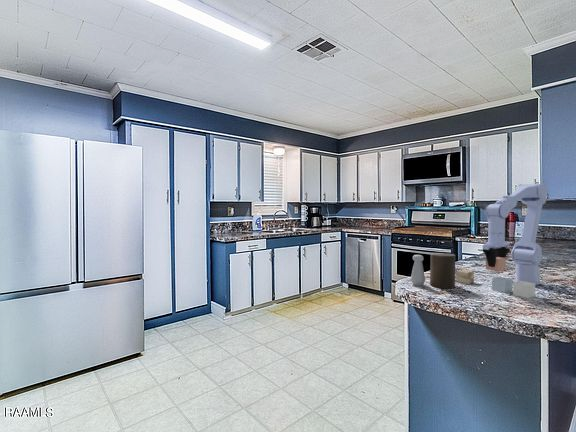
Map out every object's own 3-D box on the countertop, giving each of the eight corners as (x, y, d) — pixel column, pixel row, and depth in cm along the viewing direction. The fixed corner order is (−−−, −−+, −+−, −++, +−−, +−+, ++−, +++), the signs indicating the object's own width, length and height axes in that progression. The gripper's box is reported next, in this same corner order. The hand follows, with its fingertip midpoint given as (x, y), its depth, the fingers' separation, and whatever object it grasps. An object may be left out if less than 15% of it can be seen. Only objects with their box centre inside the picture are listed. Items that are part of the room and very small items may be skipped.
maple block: (463, 280, 146) (463, 269, 146) (473, 282, 142) (473, 271, 141) (456, 281, 144) (456, 270, 144) (466, 284, 139) (466, 272, 139)
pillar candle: (449, 290, 129) (450, 253, 129) (425, 285, 136) (426, 250, 136) (458, 286, 135) (459, 251, 135) (435, 282, 143) (436, 249, 142)
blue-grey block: (499, 288, 132) (499, 276, 132) (512, 291, 127) (512, 279, 127) (492, 289, 129) (492, 277, 129) (505, 293, 125) (505, 280, 125)
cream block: (520, 293, 125) (520, 280, 124) (535, 296, 120) (535, 283, 120) (513, 294, 122) (513, 282, 122) (527, 298, 118) (528, 285, 118)
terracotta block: (492, 268, 134) (493, 256, 134) (505, 270, 129) (505, 258, 129) (485, 269, 132) (485, 257, 132) (497, 271, 127) (498, 259, 127)
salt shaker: (426, 286, 134) (426, 256, 134) (412, 286, 135) (412, 256, 135) (423, 283, 140) (423, 254, 140) (409, 282, 141) (409, 253, 141)
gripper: (497, 231, 137) (496, 262, 137) (475, 233, 130) (475, 265, 131) (514, 232, 130) (514, 265, 131) (493, 234, 124) (492, 268, 124)
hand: (495, 265), depth 130 cm, fingers closed on terracotta block, 5 cm apart
